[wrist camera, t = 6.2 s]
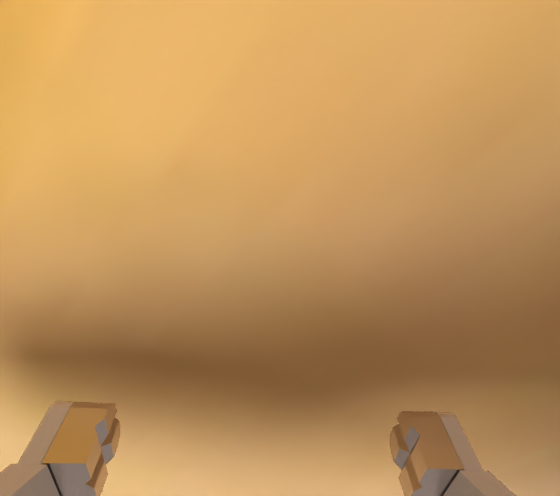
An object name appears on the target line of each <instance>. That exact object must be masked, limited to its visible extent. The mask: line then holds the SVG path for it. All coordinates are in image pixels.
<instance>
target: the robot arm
mask: <svg viewBox="0 0 560 496" xmlns="http://www.w3.org/2000/svg"><path fill="white" fill-rule="evenodd" d="M116 412H117V409H116V405H115V403H92V402H72V401H55V402H54V403H53V404H52V405H51V406H50V408H49V409H48V411H47V413H46V414H45V416H44V418H43V420H42V421H41V423H40V425H39V427H38V428H37V430H36V432H35V434H34V435H33V437H32V439H31V441H30V442H29V444H28V446H27V448H26V449H25V451H24V453H23V455H22V456H21V458H20V460H19V462H18V463H17V464H10V465H9V466H8V467H6V468H5V469H4V470H3V471H1V472H0V496H100V495H101V492H102V489H103V487H104V484H105V481H106V478H107V475H108V473H107V469H106V464H107V463H108V462H109V461H110V460H111V459H112V458H113V457H114V455H115V452H116V449H117V446H118V442H119V437H120V422H119V420H118V419H116V418H115V415H116ZM397 420H398V423H399V424H398V425H396V426H395V427H393V429H392V431H391V434H390V448H391V453H392V457H393V460H394V462H395V463H396V464H397V465H398V466H399V467H400V468H401V473H400V476H399V480H400V483H401V486H402V490H403V493H404V496H516V495H515V494H514V493H512V492H511V491H510V490H509V489H508V488H507V487H506V486H505V485H504V484H503V483H501V482H500V481H499V480H498V479H497V478H496V477H495V476H494V475H493V474H491V473H490V472H489V471H484V470H483V469H482V467H481V465H480V463H479V461H478V459H477V457H476V455H475V453H474V451H473V449H472V447H471V445H470V443H469V441H468V439H467V437H466V435H465V433H464V431H463V429H462V427H461V425H460V423H459V421H458V419H457V418H456V416H455V415H454V414H453V413H450V412H418V411H402V412H401V413H399V415H398V417H397Z"/></svg>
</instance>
